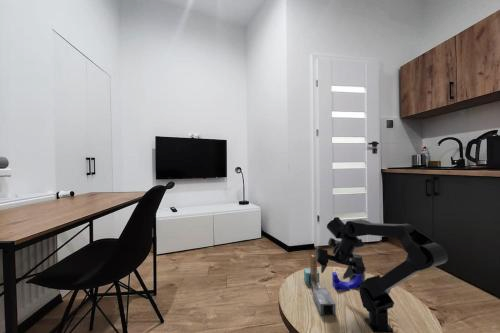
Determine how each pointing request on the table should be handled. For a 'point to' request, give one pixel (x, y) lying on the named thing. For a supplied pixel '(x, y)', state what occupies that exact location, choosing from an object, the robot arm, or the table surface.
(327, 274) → the table surface
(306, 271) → the teal block with slot
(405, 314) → the table surface
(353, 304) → the table surface
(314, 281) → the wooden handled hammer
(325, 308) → the gray rectangular tube
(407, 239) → the robot arm
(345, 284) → the cable clip
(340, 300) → the table surface
